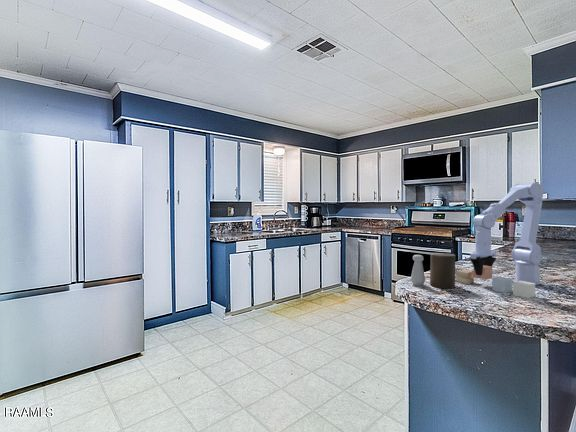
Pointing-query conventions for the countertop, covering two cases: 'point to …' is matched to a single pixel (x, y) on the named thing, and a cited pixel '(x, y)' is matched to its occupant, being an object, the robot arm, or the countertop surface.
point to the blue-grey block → (502, 284)
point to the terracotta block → (484, 273)
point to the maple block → (464, 276)
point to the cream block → (524, 289)
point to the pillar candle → (442, 270)
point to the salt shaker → (418, 271)
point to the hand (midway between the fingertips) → (482, 274)
